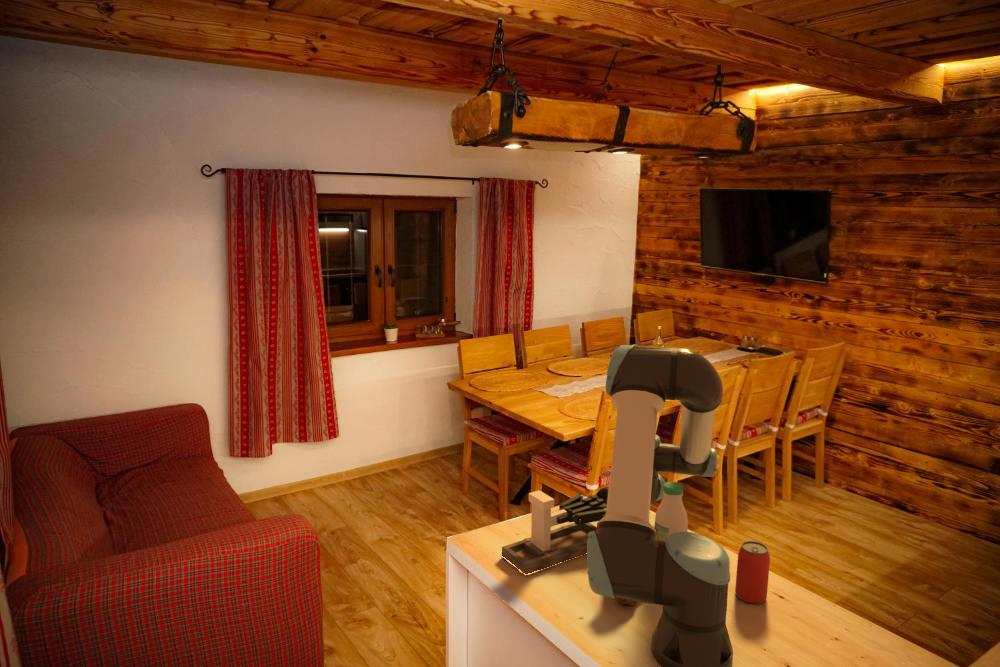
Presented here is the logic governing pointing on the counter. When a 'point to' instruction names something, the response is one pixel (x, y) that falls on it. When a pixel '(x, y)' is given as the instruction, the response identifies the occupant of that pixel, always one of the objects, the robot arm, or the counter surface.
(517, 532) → the counter surface
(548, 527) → the fader knob
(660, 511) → the milk bottle
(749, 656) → the counter surface
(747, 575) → the beer can
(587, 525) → the fader rail
